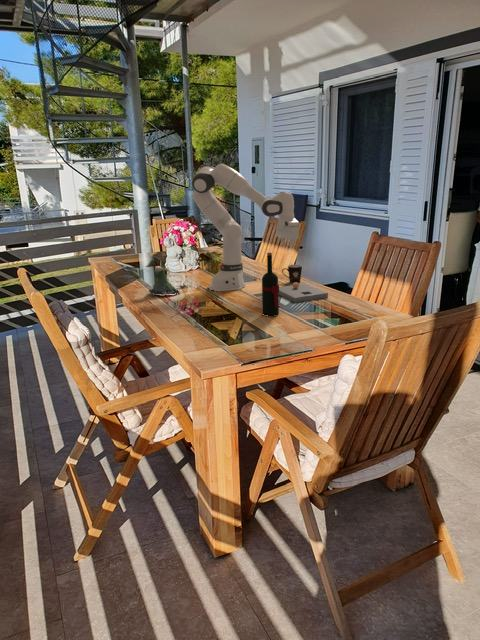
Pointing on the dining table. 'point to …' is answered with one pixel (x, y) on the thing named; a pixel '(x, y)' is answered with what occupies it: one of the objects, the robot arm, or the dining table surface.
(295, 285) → the ball
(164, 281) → the tree stump
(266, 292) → the wine bottle
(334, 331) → the dining table surface
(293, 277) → the coffee mug
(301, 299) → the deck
